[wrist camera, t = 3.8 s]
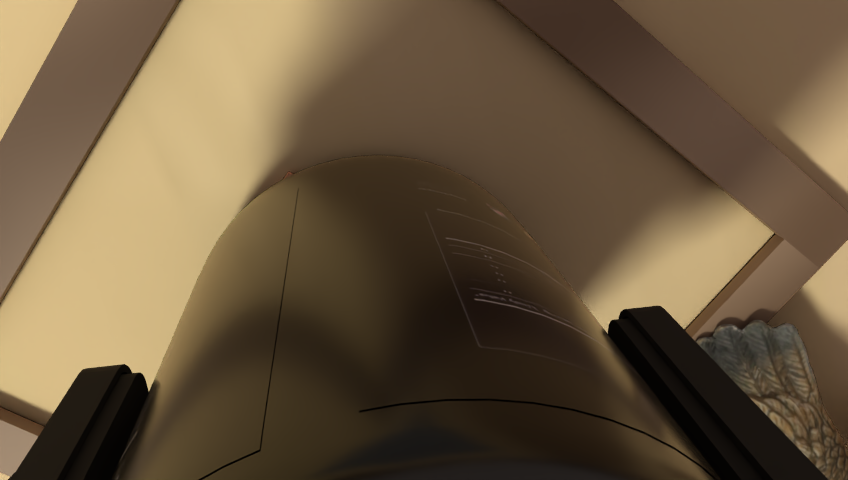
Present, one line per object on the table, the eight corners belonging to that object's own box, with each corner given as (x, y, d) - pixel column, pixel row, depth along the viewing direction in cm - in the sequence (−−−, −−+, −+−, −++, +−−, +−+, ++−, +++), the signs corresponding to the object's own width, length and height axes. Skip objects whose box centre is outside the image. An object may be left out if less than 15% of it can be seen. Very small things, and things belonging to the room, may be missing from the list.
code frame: (852, 219, 14) (862, 224, 14) (442, 643, 17) (444, 653, 17) (257, -313, 9) (255, -321, 9) (-138, 402, 13) (-149, 412, 13)
